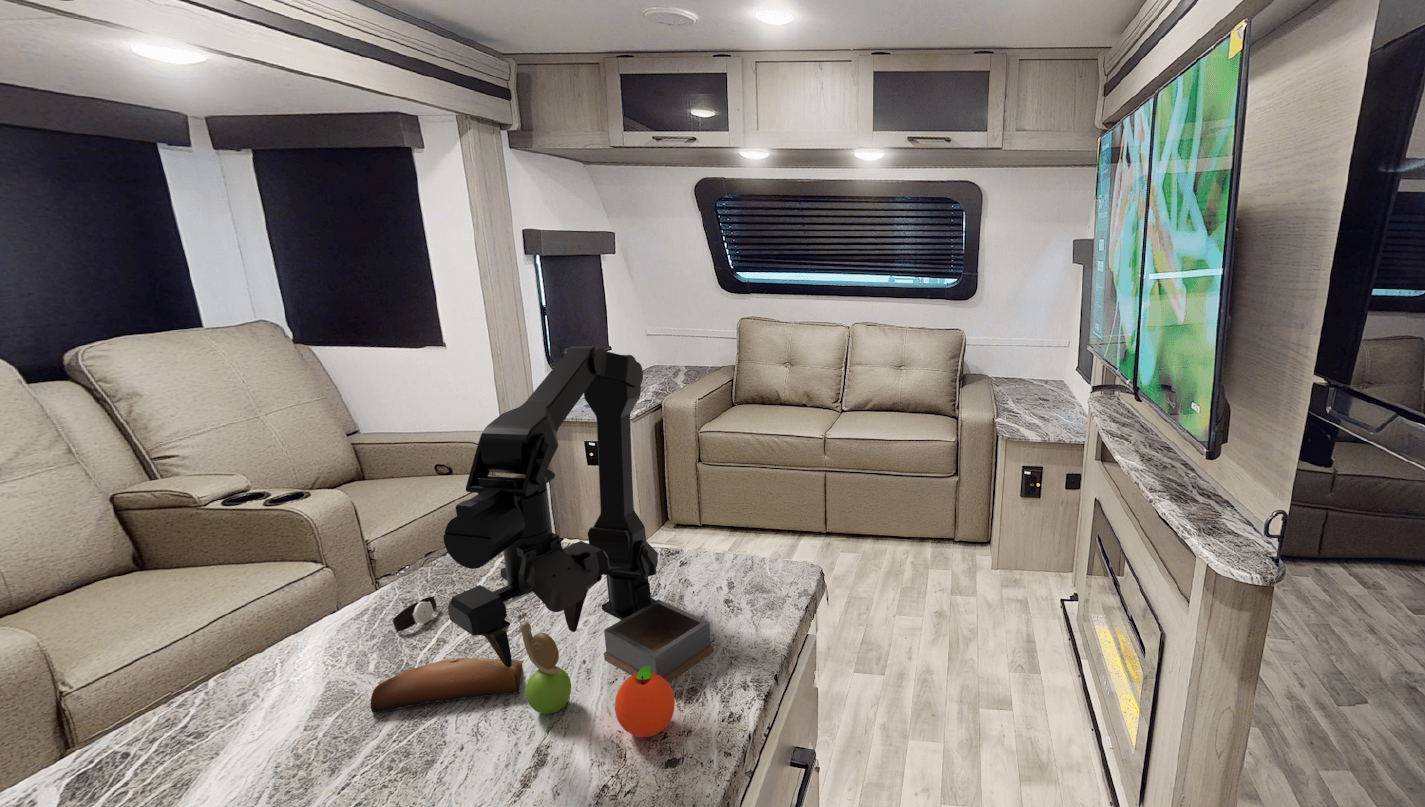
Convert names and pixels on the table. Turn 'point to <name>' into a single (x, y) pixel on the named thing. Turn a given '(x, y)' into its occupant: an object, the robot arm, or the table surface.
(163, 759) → the table surface
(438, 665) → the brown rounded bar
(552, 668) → the snail figurine
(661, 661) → the grey planter box
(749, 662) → the table surface
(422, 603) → the watch
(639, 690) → the clementine
